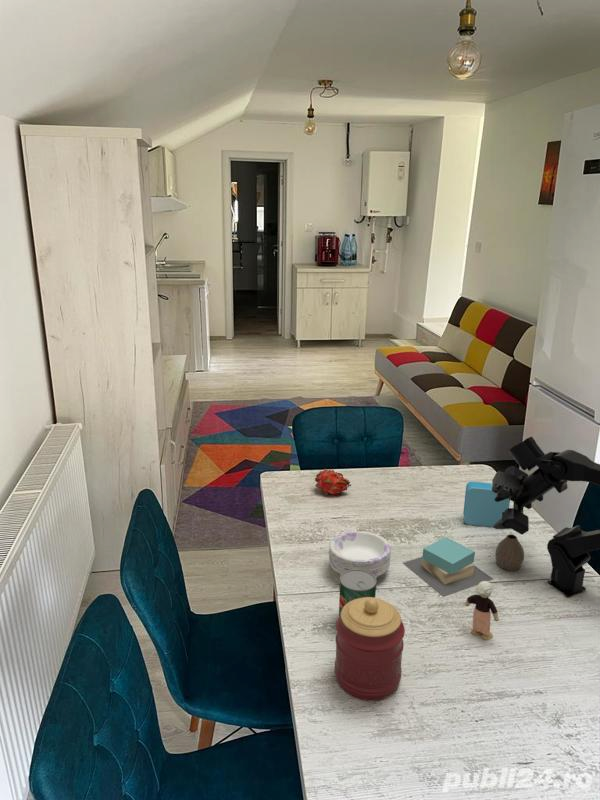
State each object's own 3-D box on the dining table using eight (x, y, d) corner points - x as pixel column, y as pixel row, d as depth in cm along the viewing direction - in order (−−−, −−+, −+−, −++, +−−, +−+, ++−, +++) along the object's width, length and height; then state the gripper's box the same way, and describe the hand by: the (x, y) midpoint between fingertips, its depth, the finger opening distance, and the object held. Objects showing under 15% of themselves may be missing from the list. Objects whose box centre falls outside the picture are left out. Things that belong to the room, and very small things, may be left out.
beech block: (473, 575, 151) (474, 564, 150) (444, 584, 147) (446, 574, 146) (448, 557, 159) (449, 547, 158) (421, 566, 155) (422, 556, 154)
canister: (358, 645, 127) (362, 572, 122) (413, 674, 120) (419, 597, 114) (320, 680, 118) (323, 602, 112) (377, 714, 110) (382, 632, 105)
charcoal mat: (493, 580, 150) (493, 579, 150) (443, 598, 143) (443, 596, 143) (450, 549, 164) (450, 548, 163) (402, 564, 156) (402, 562, 156)
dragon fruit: (312, 493, 199) (347, 503, 196) (308, 488, 191) (345, 498, 188) (319, 468, 201) (354, 478, 198) (316, 462, 193) (352, 472, 190)
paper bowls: (345, 550, 163) (346, 523, 160) (398, 567, 155) (400, 539, 153) (317, 578, 150) (318, 550, 148) (373, 598, 143) (375, 568, 140)
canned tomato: (332, 615, 137) (334, 572, 133) (364, 607, 139) (366, 566, 136) (347, 637, 130) (349, 593, 126) (380, 629, 132) (383, 585, 129)
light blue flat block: (504, 521, 179) (509, 484, 175) (506, 529, 175) (511, 491, 171) (462, 517, 181) (466, 480, 178) (463, 524, 177) (467, 487, 173)
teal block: (473, 562, 152) (475, 551, 151) (451, 574, 146) (452, 564, 145) (444, 547, 158) (445, 536, 157) (422, 558, 153) (423, 548, 152)
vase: (494, 571, 154) (497, 541, 151) (494, 557, 160) (497, 528, 158) (522, 576, 152) (527, 545, 149) (521, 562, 158) (525, 532, 156)
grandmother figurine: (499, 633, 131) (506, 583, 127) (494, 644, 128) (501, 592, 124) (464, 621, 135) (469, 572, 131) (459, 631, 132) (464, 581, 128)
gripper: (510, 442, 154) (472, 473, 165) (508, 497, 141) (467, 527, 152) (545, 463, 156) (505, 493, 166) (547, 520, 142) (503, 548, 153)
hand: (495, 514), depth 159 cm, fingers open, 9 cm apart
